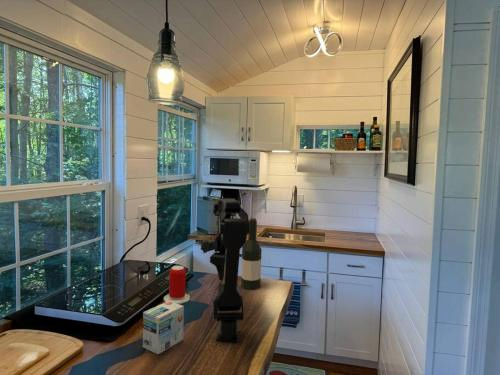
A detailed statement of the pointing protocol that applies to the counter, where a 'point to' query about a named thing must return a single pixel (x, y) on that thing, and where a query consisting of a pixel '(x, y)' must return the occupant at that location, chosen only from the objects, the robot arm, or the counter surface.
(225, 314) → the robot arm
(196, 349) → the counter surface
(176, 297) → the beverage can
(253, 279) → the wine bottle
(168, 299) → the coaster
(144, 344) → the light bulb box
